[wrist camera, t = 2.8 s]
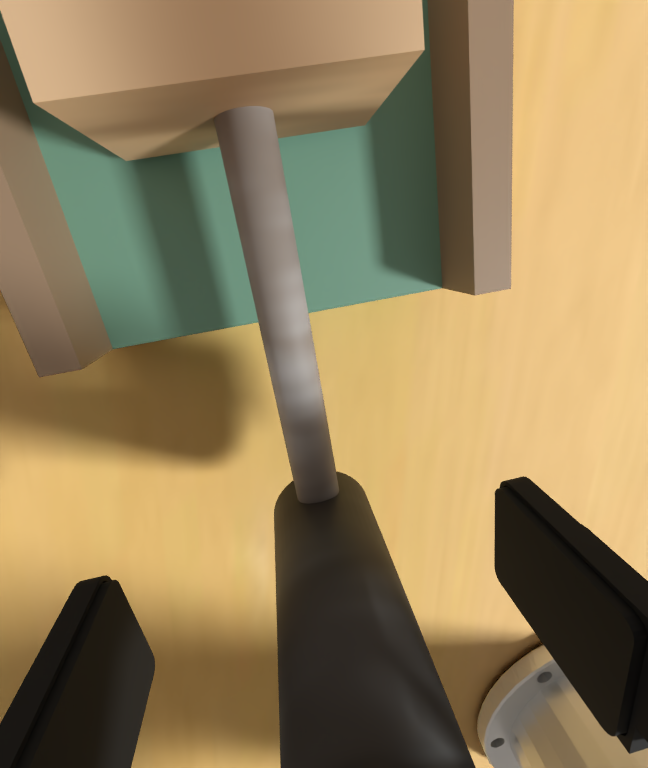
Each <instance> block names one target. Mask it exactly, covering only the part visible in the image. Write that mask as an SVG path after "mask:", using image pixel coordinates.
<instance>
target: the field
mask: <svg viewBox="0 0 648 768" xmlns="http://www.w3.org/2000/svg"><path fill="white" fill-rule="evenodd" d="M513 4H514V0H422V9H423V27H424V45H425V50H424V51H423V53H422V54H421V55H420V56H419V58H418V59H417V60H416V61H415V63H414V64H413V65H412V67H411V68H410V69H409V70H408V72H407V73H406V74H405V75H404V77H403V78H402V79H401V80H400V82H399V83H398V84H397V85H396V87H395V88H394V89H393V91H392V92H391V93H390V94H389V96H388V97H387V98H386V99H385V101H384V102H383V103H382V104H381V106H380V107H379V108H378V110H377V111H376V112H375V113H374V115H373V116H372V117H371V118H370V120H369V121H368V122H367V123H366V125H364V126H357V127H351V128H344V129H337V130H331V131H324V132H317V133H310V134H304V135H297V136H290V137H284V138H278V142H279V148H280V154H281V159H282V165H283V171H284V177H285V182H286V188H287V194H288V199H289V205H290V211H291V217H292V222H293V228H294V234H295V240H296V245H297V251H298V257H299V262H300V268H301V274H302V280H303V285H304V291H305V297H306V303H307V308H308V313H311V312H316V311H321V310H327V309H332V308H338V307H343V306H348V305H354V304H359V303H365V302H370V301H375V300H381V299H386V298H392V297H397V296H402V295H408V294H413V293H418V292H424V291H429V290H435V289H440V288H444V289H449V290H453V291H458V292H462V293H467V294H471V295H479V294H484V293H490V292H495V291H500V290H506V289H511V226H512V115H513ZM0 290H1V293H2V295H3V297H4V299H5V302H6V304H7V306H8V308H9V311H10V313H11V315H12V317H13V320H14V322H15V324H16V326H17V329H18V331H19V333H20V335H21V338H22V340H23V342H24V344H25V347H26V349H27V351H28V353H29V356H30V358H31V360H32V362H33V365H34V367H35V369H36V371H37V374H38V376H39V377H43V376H49V375H54V374H59V373H65V372H70V371H75V370H81V369H83V368H85V367H86V366H88V365H89V364H91V363H92V362H94V361H95V360H97V359H99V358H100V357H102V356H103V355H105V354H106V353H108V352H109V351H111V350H112V349H116V348H122V347H127V346H133V345H138V344H143V343H149V342H154V341H160V340H165V339H170V338H176V337H181V336H187V335H192V334H197V333H203V332H208V331H214V330H219V329H224V328H230V327H235V326H241V325H246V324H251V323H257V322H258V317H257V313H256V308H255V304H254V299H253V295H252V290H251V286H250V281H249V277H248V272H247V268H246V263H245V259H244V254H243V250H242V245H241V241H240V236H239V232H238V227H237V223H236V218H235V214H234V209H233V205H232V200H231V196H230V191H229V186H228V182H227V177H226V173H225V168H224V164H223V159H222V155H221V150H220V147H217V148H210V149H204V150H197V151H190V152H184V153H177V154H170V155H164V156H157V157H150V158H144V159H137V160H130V161H125V160H124V159H122V158H120V157H119V156H117V155H116V154H114V153H112V152H111V151H109V150H108V149H106V148H104V147H103V146H101V145H100V144H98V143H96V142H95V141H93V140H92V139H90V138H88V137H87V136H85V135H84V134H82V133H80V132H79V131H77V130H76V129H74V128H72V127H71V126H69V125H68V124H66V123H64V122H63V121H61V120H60V119H58V118H56V117H55V116H53V115H52V114H50V113H48V112H47V111H45V110H44V109H42V108H40V107H39V106H37V105H36V104H34V103H33V101H32V98H31V95H30V92H29V90H28V87H27V84H26V81H25V78H24V76H23V73H22V70H21V67H20V64H19V62H18V59H17V56H16V53H15V50H14V47H13V45H12V42H11V39H10V36H9V33H8V31H7V28H6V25H5V22H4V19H3V17H2V14H1V11H0Z"/></svg>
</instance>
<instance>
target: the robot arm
mask: <svg viewBox="0 0 648 768" xmlns="http://www.w3.org/2000/svg"><path fill="white" fill-rule="evenodd" d="M495 572H496V575H497V578H498V580H499V582H500V583H501V585H502V586H503V588H504V589H505V590H506V592H507V593H508V595H509V596H510V598H511V599H512V600H513V602H514V603H515V605H516V606H517V608H518V609H519V610H520V612H521V613H522V615H523V616H524V618H525V619H526V620H527V622H528V623H529V625H530V626H531V627H532V629H533V630H534V632H535V633H536V635H537V636H538V637H539V639H540V640H541V642H542V643H543V645H541V646H540V647H538V648H536V649H534V650H532V651H531V652H529V653H528V654H527V655H525V656H524V657H522V658H521V659H520V660H518V661H517V662H515V663H514V664H513V665H512V666H511V667H510V668H509V669H508V670H507V671H506V672H505V673H504V674H503V675H502V676H501V677H500V678H499V679H498V680H497V682H496V683H495V684H494V685H493V687H492V688H491V689H490V691H489V693H488V694H487V696H486V698H485V700H484V702H483V704H482V707H481V710H480V713H479V716H478V723H477V733H478V736H479V740H480V743H481V745H482V748H483V750H484V752H485V754H486V756H487V758H488V761H489V763H490V764H491V765H492V766H493V767H494V768H648V581H647V580H646V579H645V578H643V577H642V576H641V575H640V574H639V573H638V572H637V571H636V570H634V569H633V568H632V567H631V566H630V565H629V564H628V563H626V562H625V561H624V560H623V559H622V558H621V557H620V556H618V555H617V554H616V553H615V552H614V551H613V550H612V549H610V548H609V547H608V546H607V545H606V544H605V543H604V542H602V541H601V540H600V539H599V538H598V537H597V536H596V535H594V534H593V533H592V532H591V531H590V530H589V529H588V528H586V527H585V526H583V525H582V524H580V523H579V522H578V521H577V520H575V519H574V518H573V517H572V516H571V515H570V514H569V513H567V512H566V511H565V510H564V509H563V508H562V507H561V506H560V505H558V504H557V503H556V502H555V501H554V500H553V499H552V498H550V497H549V496H548V495H547V494H546V493H545V492H544V491H543V490H541V489H540V488H539V487H538V486H537V485H536V484H535V483H533V482H532V481H531V480H530V479H529V478H527V477H524V476H523V477H519V478H515V479H511V480H507V481H503V482H502V483H501V484H500V488H499V489H496V491H495ZM154 670H155V660H154V656H153V653H152V651H151V649H150V647H149V645H148V642H147V640H146V638H145V636H144V634H143V632H142V630H141V628H140V626H139V624H138V622H137V619H136V617H135V615H134V613H133V611H132V609H131V607H130V605H129V603H128V601H127V598H126V596H125V594H124V592H123V590H122V588H121V586H120V584H119V582H118V581H117V580H113V581H112V580H111V579H110V577H108V576H101V577H97V578H92V579H88V580H84V581H80V582H79V583H77V584H76V586H75V587H74V589H73V590H72V592H71V594H70V596H69V598H68V600H67V602H66V603H65V605H64V607H63V609H62V611H61V613H60V615H59V616H58V618H57V620H56V622H55V624H54V626H53V627H52V629H51V631H50V633H49V635H48V637H47V639H46V640H45V642H44V644H43V646H42V648H41V650H40V652H39V653H38V655H37V657H36V659H35V661H34V663H33V665H32V666H31V668H30V670H29V672H28V674H27V675H26V677H25V679H24V681H23V683H22V685H21V686H20V688H19V690H18V692H17V694H16V696H15V698H14V699H13V701H12V703H11V705H10V707H9V709H8V711H7V712H6V714H5V716H4V718H3V720H2V722H1V723H0V768H131V765H132V761H133V757H134V753H135V749H136V744H137V740H138V736H139V732H140V728H141V724H142V720H143V716H144V712H145V708H146V704H147V700H148V696H149V692H150V688H151V684H152V680H153V676H154Z"/></svg>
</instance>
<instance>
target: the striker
mask: <svg viewBox="0 0 648 768" xmlns="http://www.w3.org/2000/svg"><path fill="white" fill-rule="evenodd" d="M0 11H1V14H2V17H3V19H4V22H5V25H6V28H7V31H8V33H9V36H10V39H11V42H12V45H13V47H14V50H15V53H16V56H17V59H18V62H19V64H20V67H21V70H22V73H23V76H24V78H25V81H26V84H27V87H28V90H29V92H30V95H31V98H32V101H33V103H34V104H36V105H37V106H39V107H40V108H42V109H44V110H45V111H47V112H48V113H50V114H52V115H53V116H55V117H56V118H58V119H60V120H61V121H63V122H64V123H66V124H68V125H69V126H71V127H72V128H74V129H76V130H77V131H79V132H80V133H82V134H84V135H85V136H87V137H88V138H90V139H92V140H93V141H95V142H96V143H98V144H100V145H101V146H103V147H104V148H106V149H108V150H109V151H111V152H112V153H114V154H116V155H117V156H119V157H120V158H122V159H124V160H125V161H130V160H137V159H144V158H150V157H157V156H164V155H170V154H177V153H184V152H190V151H197V150H204V149H210V148H217V147H220V150H221V155H222V159H223V164H224V168H225V173H226V177H227V182H228V186H229V191H230V196H231V200H232V205H233V209H234V214H235V218H236V223H237V227H238V232H239V236H240V241H241V245H242V250H243V254H244V259H245V263H246V268H247V272H248V277H249V281H250V286H251V290H252V295H253V299H254V304H255V308H256V313H257V317H258V322H259V326H260V331H261V335H262V340H263V345H264V349H265V354H266V358H267V363H268V367H269V372H270V376H271V381H272V385H273V390H274V394H275V399H276V403H277V408H278V412H279V417H280V421H281V426H282V430H283V435H284V439H285V444H286V448H287V453H288V457H289V462H290V466H291V471H292V475H293V480H294V481H292V482H291V483H290V484H289V485H288V486H286V487H285V489H284V490H283V491H282V492H281V494H280V495H279V497H278V499H277V502H276V505H275V509H274V530H275V568H276V606H277V644H278V682H279V721H280V759H281V768H475V765H474V763H473V760H472V758H471V755H470V753H469V750H468V748H467V745H466V743H465V740H464V738H463V735H462V733H461V730H460V728H459V725H458V723H457V721H456V718H455V716H454V713H453V711H452V708H451V706H450V703H449V701H448V698H447V696H446V693H445V691H444V688H443V686H442V683H441V681H440V678H439V676H438V673H437V671H436V668H435V666H434V663H433V661H432V658H431V656H430V653H429V651H428V648H427V646H426V643H425V641H424V638H423V636H422V633H421V631H420V628H419V626H418V623H417V621H416V618H415V616H414V613H413V611H412V608H411V606H410V604H409V601H408V599H407V596H406V594H405V591H404V589H403V586H402V584H401V581H400V579H399V576H398V574H397V571H396V569H395V566H394V564H393V561H392V559H391V556H390V554H389V551H388V549H387V546H386V544H385V541H384V539H383V536H382V534H381V531H380V529H379V526H378V524H377V521H376V519H375V516H374V514H373V511H372V509H371V506H370V504H369V501H368V499H367V496H366V494H365V492H364V490H363V488H362V487H361V486H360V484H359V483H358V482H357V481H356V480H354V479H353V478H351V477H350V476H348V475H346V474H343V473H340V472H336V469H335V463H334V457H333V452H332V446H331V440H330V434H329V429H328V423H327V417H326V411H325V406H324V400H323V394H322V389H321V383H320V377H319V371H318V366H317V360H316V354H315V348H314V343H313V337H312V331H311V325H310V320H309V314H308V308H307V303H306V297H305V291H304V285H303V280H302V274H301V268H300V262H299V257H298V251H297V245H296V240H295V234H294V228H293V222H292V217H291V211H290V205H289V199H288V194H287V188H286V182H285V177H284V171H283V165H282V159H281V154H280V148H279V142H278V138H284V137H290V136H297V135H304V134H310V133H317V132H324V131H331V130H337V129H344V128H351V127H357V126H364V125H366V123H367V122H368V121H369V120H370V118H371V117H372V116H373V115H374V113H375V112H376V111H377V110H378V108H379V107H380V106H381V104H382V103H383V102H384V101H385V99H386V98H387V97H388V96H389V94H390V93H391V92H392V91H393V89H394V88H395V87H396V85H397V84H398V83H399V82H400V80H401V79H402V78H403V77H404V75H405V74H406V73H407V72H408V70H409V69H410V68H411V67H412V65H413V64H414V63H415V61H416V60H417V59H418V58H419V56H420V55H421V54H422V53H423V51H424V50H425V45H424V27H423V9H422V0H0Z"/></svg>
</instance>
